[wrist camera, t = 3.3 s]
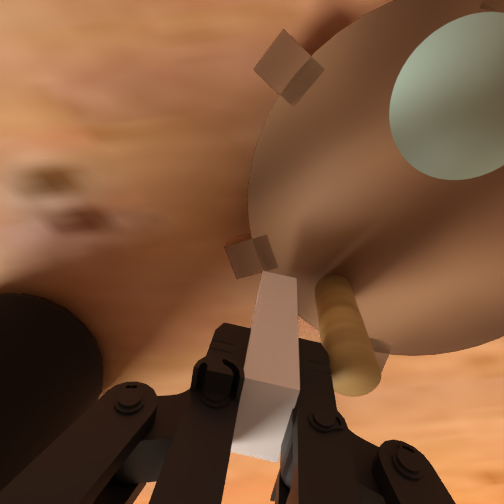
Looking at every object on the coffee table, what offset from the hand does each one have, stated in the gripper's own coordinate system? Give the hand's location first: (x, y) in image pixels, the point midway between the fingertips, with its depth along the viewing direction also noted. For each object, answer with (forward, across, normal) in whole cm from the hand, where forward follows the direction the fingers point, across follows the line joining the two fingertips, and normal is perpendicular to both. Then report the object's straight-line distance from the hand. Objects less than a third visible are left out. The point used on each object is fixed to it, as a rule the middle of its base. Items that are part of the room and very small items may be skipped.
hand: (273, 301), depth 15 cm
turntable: (+3, +6, +5) cm, 8 cm away
